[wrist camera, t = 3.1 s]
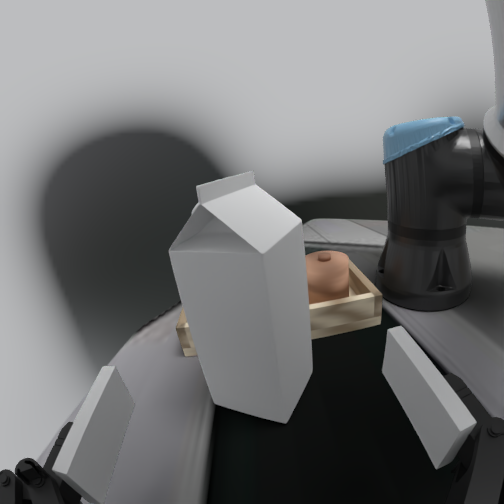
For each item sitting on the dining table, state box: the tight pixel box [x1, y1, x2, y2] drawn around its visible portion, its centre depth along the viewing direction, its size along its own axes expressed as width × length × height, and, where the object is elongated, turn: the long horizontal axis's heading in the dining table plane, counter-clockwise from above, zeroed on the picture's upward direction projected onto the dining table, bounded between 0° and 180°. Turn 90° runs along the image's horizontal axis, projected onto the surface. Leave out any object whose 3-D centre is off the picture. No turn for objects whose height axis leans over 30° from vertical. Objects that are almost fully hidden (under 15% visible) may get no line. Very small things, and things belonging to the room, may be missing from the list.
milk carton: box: [169, 171, 313, 424], centre depth 22 cm, size 7×7×19 cm
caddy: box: [176, 251, 383, 357], centre depth 37 cm, size 23×13×7 cm, turn 93°
